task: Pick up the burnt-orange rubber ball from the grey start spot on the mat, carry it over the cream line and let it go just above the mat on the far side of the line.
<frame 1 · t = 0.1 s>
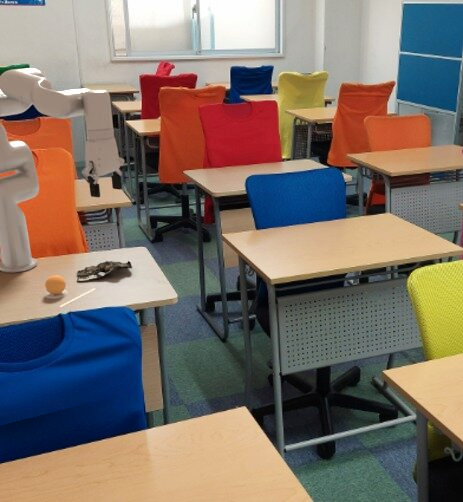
hand: (106, 192, 182), 31 cm above the table, tool pointing down, fingers open, 9 cm apart
ball: (56, 293, 190), resting on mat
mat: (73, 297, 188), on the table
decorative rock: (103, 275, 206), on the table
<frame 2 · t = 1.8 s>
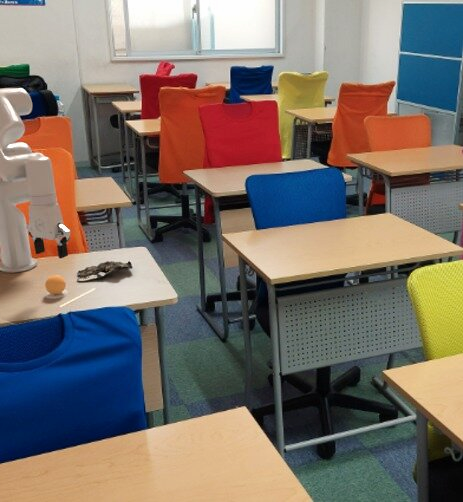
hand: (51, 254, 185), 13 cm above the table, tool pointing down, fingers open, 9 cm apart
nothing on the table moved.
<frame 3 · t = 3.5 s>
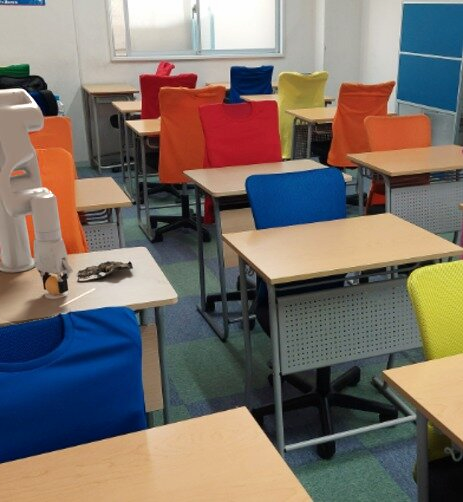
hand: (56, 289, 190), 2 cm above the table, tool pointing down, fingers closed on ball, 5 cm apart
ball: (56, 293, 190), resting on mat, touching gripper
everything else where it was.
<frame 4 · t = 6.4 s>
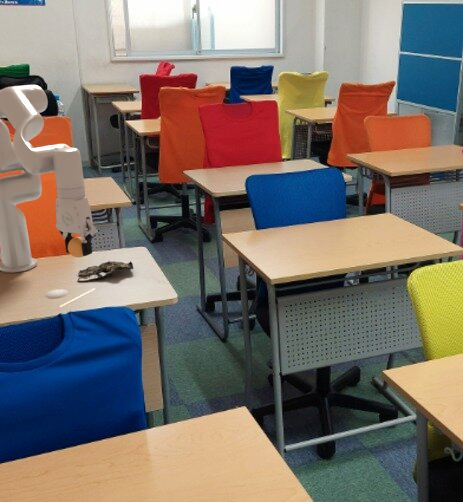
hand: (79, 252, 179), 16 cm above the table, tool pointing down, fingers closed on ball, 5 cm apart
ball: (79, 256, 179), point 15 cm above the table, touching gripper
everything else where it was.
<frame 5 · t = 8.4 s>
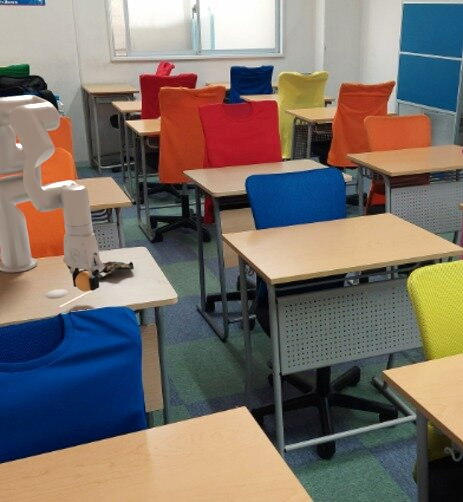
hand: (86, 286, 182), 5 cm above the table, tool pointing down, fingers closed on ball, 5 cm apart
ball: (87, 290, 182), point 4 cm above the table, touching gripper
everything else where it was.
when the fingers open (3 cm above the table, at t = 9.7 s): ball drops 2 cm, resting on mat.
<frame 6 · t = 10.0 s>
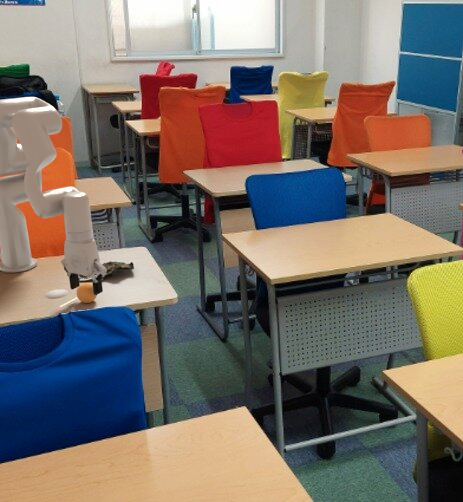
hand: (86, 290, 182), 4 cm above the table, tool pointing down, fingers open, 8 cm apart
ball: (88, 301, 184), resting on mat
everything else where it was.
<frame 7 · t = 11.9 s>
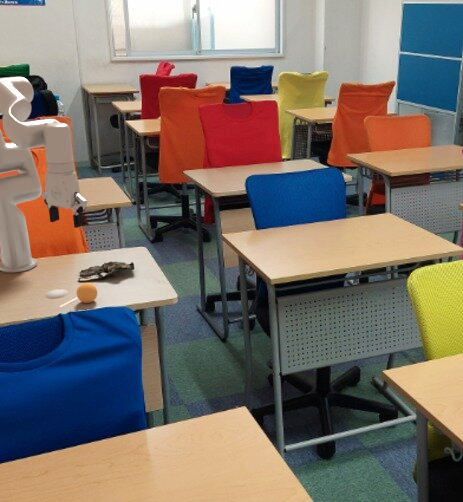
hand: (66, 223, 183), 23 cm above the table, tool pointing down, fingers open, 9 cm apart
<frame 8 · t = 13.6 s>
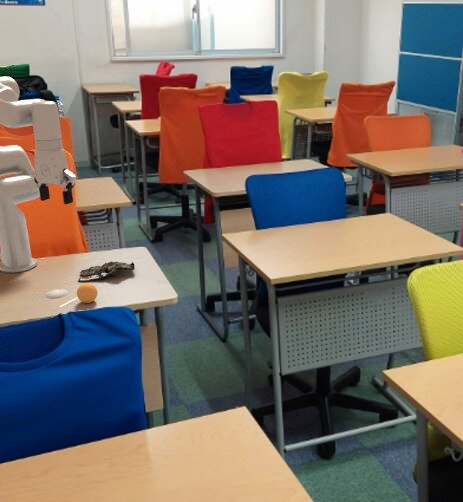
hand: (56, 201, 186), 28 cm above the table, tool pointing down, fingers open, 9 cm apart
at the end: ball inside the target area (26.0 cm from its centre), resting on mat; the gripper is holding nothing; ball moved 13.0 cm from its start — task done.
